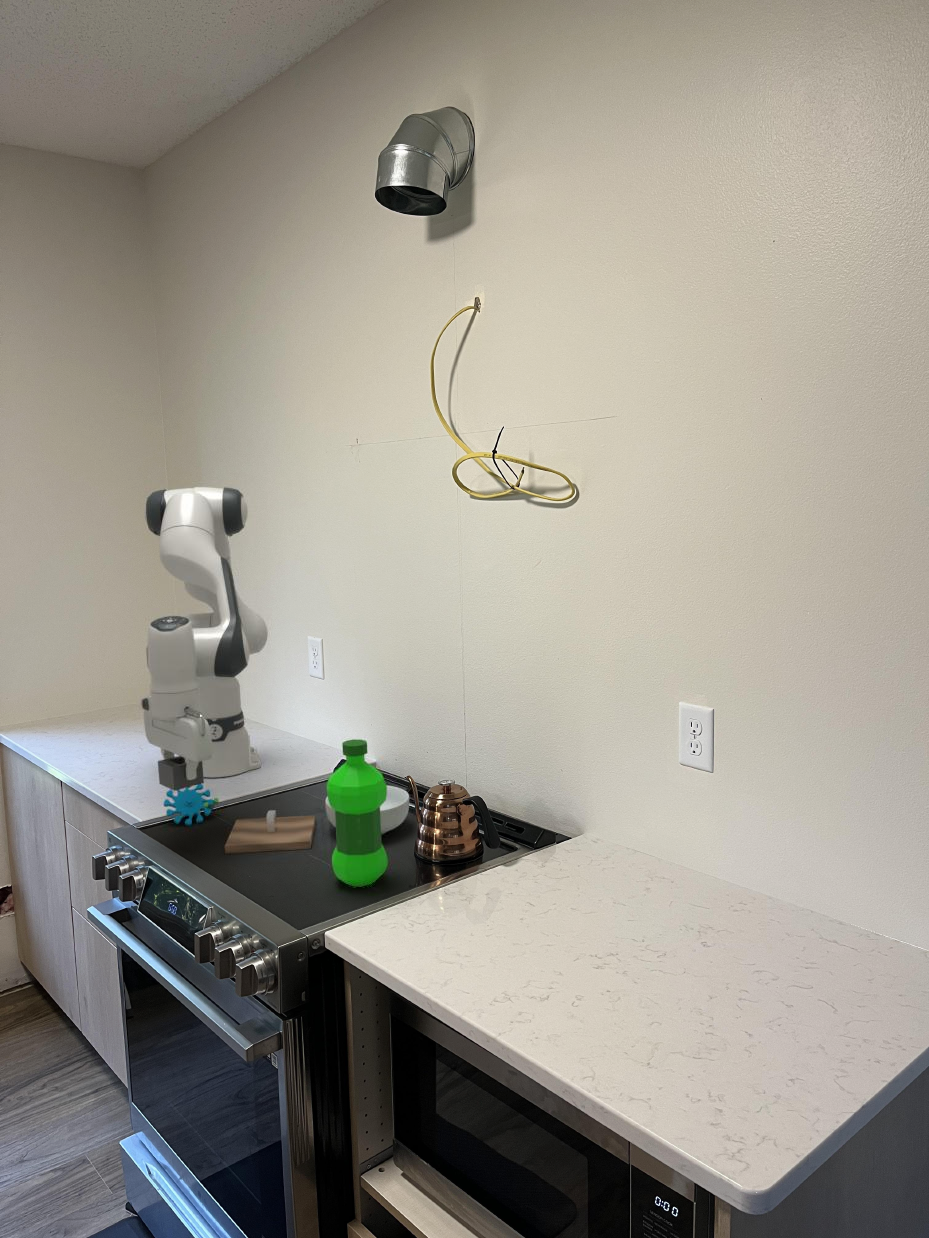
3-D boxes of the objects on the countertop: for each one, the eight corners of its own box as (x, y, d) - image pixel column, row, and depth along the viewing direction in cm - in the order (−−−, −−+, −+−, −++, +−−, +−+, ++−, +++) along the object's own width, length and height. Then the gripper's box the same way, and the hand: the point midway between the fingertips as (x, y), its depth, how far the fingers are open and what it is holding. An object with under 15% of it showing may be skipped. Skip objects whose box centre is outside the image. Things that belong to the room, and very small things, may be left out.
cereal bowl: (388, 851, 174) (387, 815, 173) (311, 841, 180) (309, 806, 178) (423, 819, 189) (422, 786, 188) (351, 811, 195) (349, 779, 194)
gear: (163, 822, 187) (164, 778, 193) (161, 835, 191) (162, 792, 197) (219, 822, 191) (219, 779, 196) (215, 834, 195) (216, 792, 201)
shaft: (269, 827, 183) (268, 810, 183) (276, 827, 183) (275, 810, 183) (267, 832, 180) (266, 815, 180) (274, 832, 180) (273, 815, 180)
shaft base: (237, 826, 188) (236, 819, 188) (315, 822, 190) (315, 815, 189) (225, 853, 174) (224, 845, 174) (310, 848, 176) (309, 841, 176)
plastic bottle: (337, 868, 166) (331, 734, 163) (395, 869, 165) (390, 734, 161) (323, 893, 156) (316, 751, 153) (384, 894, 155) (379, 751, 152)
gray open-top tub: (159, 783, 175) (157, 760, 174) (188, 776, 179) (186, 753, 178) (174, 790, 171) (172, 766, 170) (203, 782, 175) (202, 759, 174)
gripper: (218, 709, 167) (223, 782, 169) (166, 692, 182) (171, 760, 184) (186, 715, 163) (192, 790, 165) (136, 698, 178) (141, 767, 180)
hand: (181, 774), depth 175 cm, fingers closed on gray open-top tub, 6 cm apart
